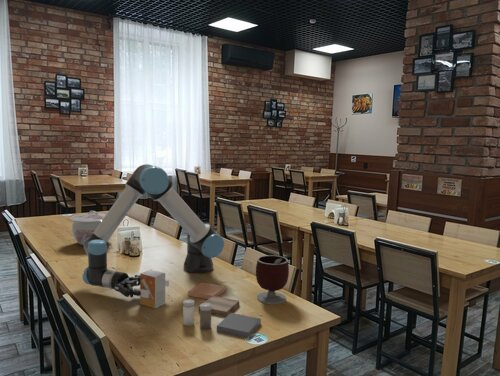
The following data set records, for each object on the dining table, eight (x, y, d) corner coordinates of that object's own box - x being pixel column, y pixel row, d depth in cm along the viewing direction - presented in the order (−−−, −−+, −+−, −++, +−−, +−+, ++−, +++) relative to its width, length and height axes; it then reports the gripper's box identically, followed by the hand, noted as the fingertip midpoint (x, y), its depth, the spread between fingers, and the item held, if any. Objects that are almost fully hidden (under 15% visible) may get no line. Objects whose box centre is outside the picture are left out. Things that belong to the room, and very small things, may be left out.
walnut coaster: (212, 300, 175) (212, 295, 175) (239, 305, 171) (239, 300, 170) (198, 311, 164) (198, 306, 164) (226, 316, 160) (226, 311, 159)
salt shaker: (186, 320, 156) (186, 298, 155) (196, 322, 154) (196, 300, 153) (180, 324, 152) (180, 302, 151) (190, 326, 150) (190, 304, 150)
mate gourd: (250, 294, 183) (251, 249, 180) (279, 291, 187) (280, 247, 185) (264, 308, 168) (265, 260, 166) (295, 304, 173) (297, 257, 171)
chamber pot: (71, 239, 268) (70, 207, 265) (116, 237, 276) (116, 206, 273) (66, 251, 241) (65, 215, 239) (116, 248, 249) (116, 214, 247)
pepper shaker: (203, 323, 153) (203, 302, 152) (213, 325, 152) (213, 304, 151) (197, 328, 149) (197, 306, 148) (207, 330, 148) (208, 308, 147)
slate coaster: (231, 317, 159) (231, 312, 159) (260, 323, 154) (260, 318, 154) (216, 331, 148) (216, 325, 148) (248, 338, 143) (248, 332, 143)
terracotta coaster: (201, 286, 191) (201, 282, 190) (225, 290, 186) (225, 286, 186) (187, 295, 180) (187, 291, 179) (212, 300, 175) (212, 295, 175)
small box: (139, 304, 169) (139, 273, 167) (150, 299, 174) (150, 269, 173) (155, 309, 165) (155, 277, 163) (165, 303, 171) (165, 272, 169)
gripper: (135, 279, 188) (175, 287, 180) (94, 299, 165) (139, 309, 157) (135, 263, 187) (175, 270, 179) (94, 281, 164) (139, 289, 156)
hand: (158, 288), depth 168 cm, fingers open, 13 cm apart
